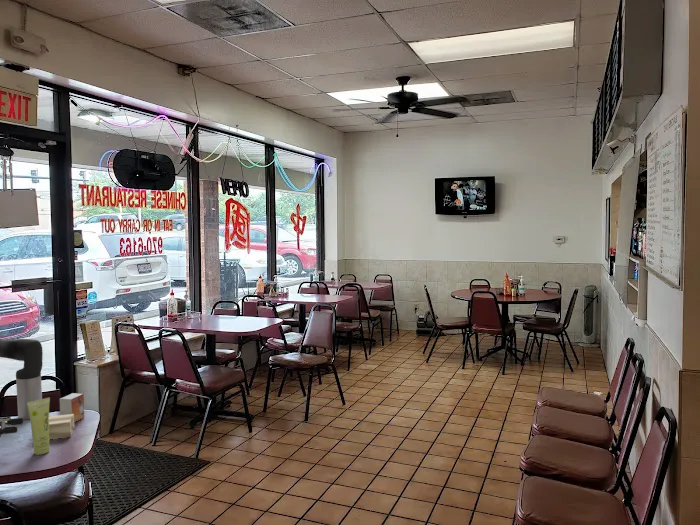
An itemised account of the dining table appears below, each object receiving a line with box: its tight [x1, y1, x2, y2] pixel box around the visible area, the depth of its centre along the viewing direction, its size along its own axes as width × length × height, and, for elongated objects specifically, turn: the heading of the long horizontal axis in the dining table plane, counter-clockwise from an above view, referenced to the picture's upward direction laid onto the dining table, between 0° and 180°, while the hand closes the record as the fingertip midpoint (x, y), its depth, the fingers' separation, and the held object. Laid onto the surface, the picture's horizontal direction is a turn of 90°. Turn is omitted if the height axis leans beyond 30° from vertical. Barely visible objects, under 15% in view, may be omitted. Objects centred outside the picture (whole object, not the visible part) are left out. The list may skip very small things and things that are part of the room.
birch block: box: [49, 414, 75, 441], centre depth 221 cm, size 10×12×6 cm
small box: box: [59, 392, 85, 424], centre depth 236 cm, size 8×6×10 cm
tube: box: [27, 397, 51, 456], centre depth 204 cm, size 6×5×20 cm
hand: (20, 424), depth 202 cm, fingers open, 8 cm apart
